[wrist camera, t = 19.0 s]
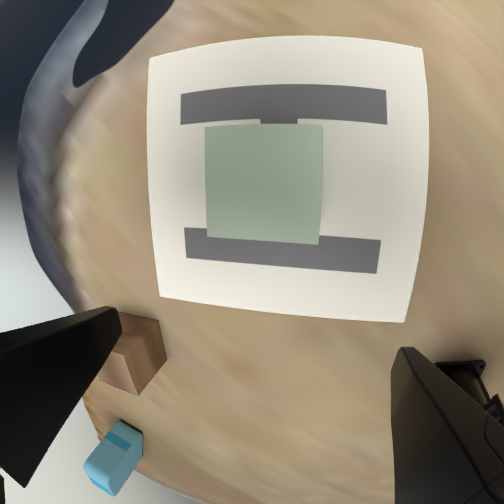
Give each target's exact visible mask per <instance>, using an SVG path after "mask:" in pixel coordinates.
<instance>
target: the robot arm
mask: <svg viewBox="0 0 504 504" xmlns="http://www.w3.org/2000/svg"><path fill="white" fill-rule="evenodd" d="M121 334H122V325H121V321H120V317H119V313H118V310H117V309H116V308H114V307H110V306H104V307H100V308H96V309H92V310H88V311H85V312H81V313H77V314H73V315H70V316H66V317H62V318H58V319H55V320H51V321H46V322H43V323H39V324H35V325H31V326H27V327H23V328H19V329H15V330H11V331H7V332H2V333H0V468H2V469H3V470H4V471H5V472H6V473H8V474H9V475H10V476H11V477H12V478H13V479H14V480H15V481H16V482H18V483H19V484H20V485H21V486H22V487H23V488H25V487H26V486H27V485H28V483H29V481H30V479H31V478H32V476H33V474H34V472H35V471H36V469H37V467H38V465H39V464H40V462H41V460H42V459H43V457H44V455H45V453H46V452H47V450H48V448H49V447H50V445H51V443H52V442H53V440H54V439H55V437H56V435H57V434H58V432H59V431H60V429H61V428H62V426H63V425H64V423H65V421H66V420H67V418H68V417H69V415H70V414H71V412H72V411H73V409H74V408H75V406H76V405H77V403H78V402H79V400H80V399H81V397H82V396H83V394H84V393H85V391H86V390H87V389H88V387H89V386H90V384H91V383H92V381H93V380H94V378H95V377H96V376H97V374H98V373H99V371H100V370H101V368H102V367H103V365H104V364H105V362H106V360H107V358H108V357H109V355H110V353H111V352H112V350H113V348H114V346H115V345H116V343H117V341H118V339H119V338H120V336H121ZM485 366H486V363H485V361H484V360H480V361H467V362H451V363H437V364H435V365H434V364H433V363H432V362H430V361H429V360H428V359H427V358H426V357H425V356H424V355H422V354H421V353H420V352H419V351H418V350H416V349H415V348H414V347H400V348H399V350H398V352H397V355H396V358H395V361H394V364H393V367H392V370H391V428H392V439H393V453H394V474H395V504H504V404H503V402H502V401H501V399H500V397H499V396H498V394H496V395H495V396H493V397H492V399H490V397H489V395H488V392H487V390H486V388H485V386H484V384H483V382H482V380H481V378H480V376H481V374H482V372H483V370H484V368H485ZM0 504H5V492H4V478H3V477H2V476H1V474H0Z"/></svg>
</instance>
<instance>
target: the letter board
mask: <svg viewBox="0 0 504 504" xmlns="http://www.w3.org/2000/svg"><path fill="white" fill-rule="evenodd" d="M243 124H317V125H322V128H323V169H322V199H321V219H320V231H319V242H318V245H313V244H300V243H287V242H273V241H259V240H245V239H231V238H216V237H207V222H206V193H205V127H210V126H224V125H243ZM147 163H148V186H149V202H150V215H151V226H152V237H153V246H154V255H155V263H156V271H157V278H158V285H159V292H160V296H161V297H167V298H173V299H179V300H185V301H191V302H198V303H204V304H211V305H218V306H225V307H232V308H240V309H247V310H256V311H264V312H273V313H282V314H291V315H301V316H312V317H323V318H335V319H349V320H364V321H381V322H404V320H405V317H406V313H407V309H408V305H409V301H410V297H411V293H412V288H413V284H414V279H415V274H416V269H417V264H418V259H419V253H420V247H421V240H422V234H423V226H424V218H425V209H426V199H427V186H428V169H429V115H428V98H427V86H426V76H425V68H424V60H423V54H422V48H417V47H413V46H408V45H403V44H397V43H391V42H385V41H378V40H370V39H361V38H351V37H336V36H276V37H261V38H250V39H241V40H233V41H226V42H220V43H213V44H208V45H202V46H197V47H192V48H188V49H183V50H179V51H175V52H171V53H167V54H163V55H159V56H155V57H152V58H149V73H148V94H147Z"/></svg>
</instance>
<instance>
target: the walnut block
mask: <svg viewBox="0 0 504 504" xmlns="http://www.w3.org/2000/svg"><path fill="white" fill-rule="evenodd" d="M119 317H120V321H121V325H122V334H121V336H120V338H119V339H118V341H117V343H116V345H115V346H114V348H113V350H112V352H111V353H110V355H109V357H108V358H107V360H106V362H105V364H104V365H103V367H102V368H101V370H100V371H99V373H98V374H97V375H98V377H99V379H100V381H102V382H105V383H107V384H109V385H112V386H114V387H117V388H119V389H121V390H124V391H127V392H129V393H132V394H134V395H137V396H139V394H140V393H141V392H142V391H143V389H144V388H145V387H146V386H147V384H148V383H149V382H150V381H151V379H152V378H153V377H154V376H155V374H156V373H157V372H158V371H159V369H160V368H161V367H162V365H163V364H164V363H165V362H166V360H167V358H166V353H165V349H164V345H163V340H162V336H161V331H160V326H159V321H158V320H154V319H149V318H145V317H140V316H136V315H131V314H127V313H123V312H119Z"/></svg>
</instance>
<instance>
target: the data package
mask: <svg viewBox="0 0 504 504" xmlns="http://www.w3.org/2000/svg"><path fill="white" fill-rule="evenodd" d="M142 454H143V435H142V434H141V433H140V432H138V431H136V430H135V429H133V428H131V427H130V426H128V425H126V424H125V423H123V422H121V421H118V422H116V423H115V425H114V426H113V427H112V428H111V430H110V431H109V432H108V433H107V435H106V436H105V437H104V438H103V440H102V441H101V442H100V444H99V445H98V446H97V447H96V448H95V450H94V451H93V452H92V453H91V455H90V456H89V457H88V459H87V460H86V461H85V463H84V466H83V467H84V470H85V472H86V473H87V475H88V477H89V478H90V480H91V481H92V483H93V484H95V485H96V486H98V487H99V488H101V489H102V490H104V491H105V492H107V493H109V494H110V495H112V496H116V495H117V493H118V492H119V491H120V489H121V488H122V486H123V485H124V483H125V482H126V480H127V479H128V477H129V476H130V474H131V473H132V471H133V470H134V468H135V467H136V465H137V464H138V462H139V461H140V459H141V457H142Z"/></svg>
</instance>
